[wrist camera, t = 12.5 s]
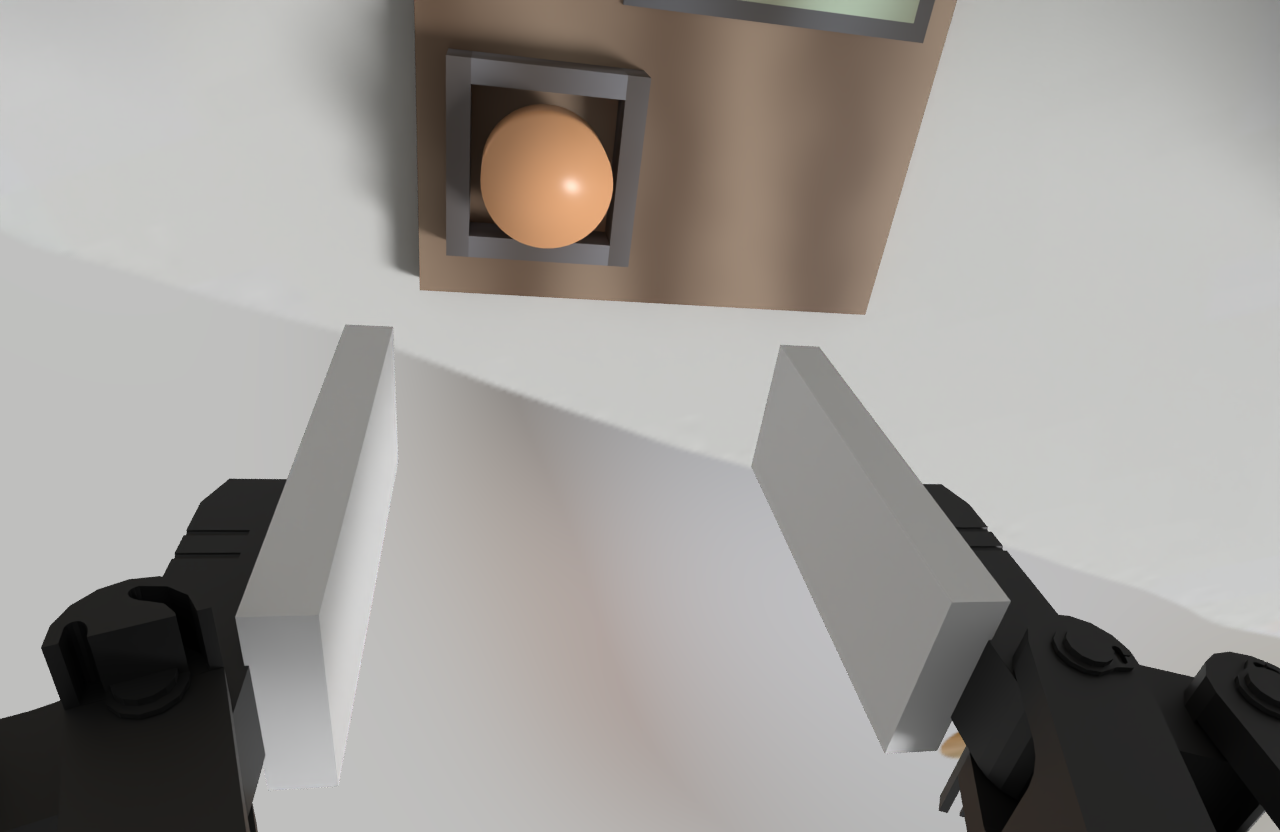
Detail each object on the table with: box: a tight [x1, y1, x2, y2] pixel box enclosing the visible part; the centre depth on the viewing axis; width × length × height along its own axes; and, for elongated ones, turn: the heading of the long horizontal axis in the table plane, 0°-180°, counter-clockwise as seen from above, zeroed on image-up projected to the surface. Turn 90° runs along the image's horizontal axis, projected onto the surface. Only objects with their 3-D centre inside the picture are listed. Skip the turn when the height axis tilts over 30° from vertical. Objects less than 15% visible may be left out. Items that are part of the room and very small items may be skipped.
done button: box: [480, 104, 613, 248], centre depth 27 cm, size 4×4×2 cm
